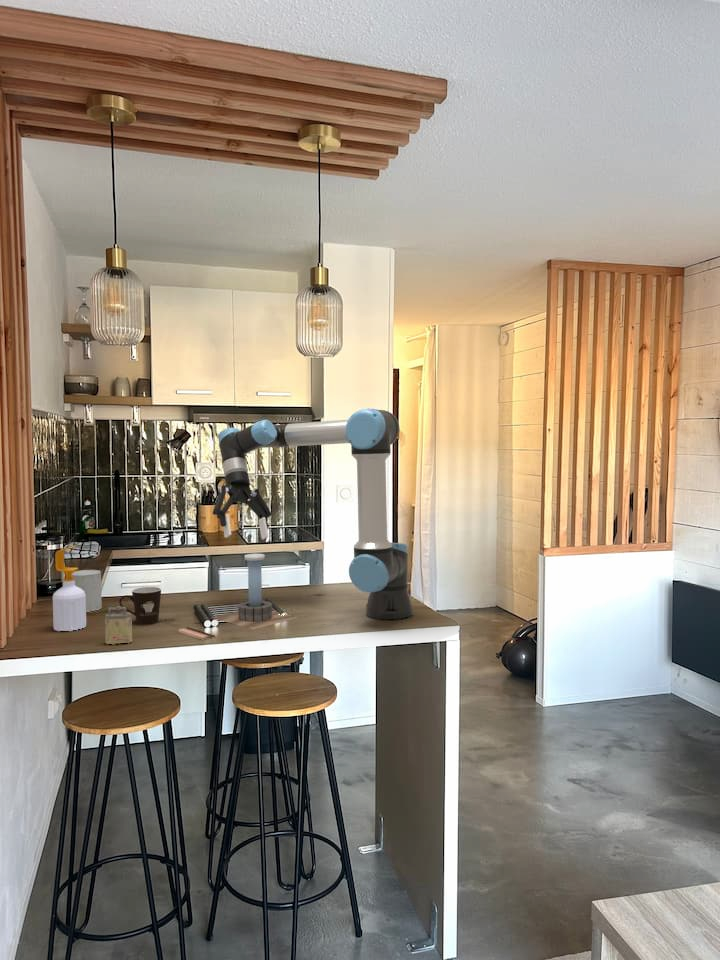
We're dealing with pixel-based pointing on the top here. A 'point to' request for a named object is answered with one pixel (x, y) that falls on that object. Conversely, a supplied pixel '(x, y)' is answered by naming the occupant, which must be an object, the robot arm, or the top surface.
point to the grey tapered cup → (90, 587)
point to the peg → (254, 579)
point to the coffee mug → (145, 604)
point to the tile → (195, 633)
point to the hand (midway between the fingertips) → (247, 537)
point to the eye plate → (254, 624)
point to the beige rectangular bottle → (118, 626)
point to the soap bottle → (68, 599)
